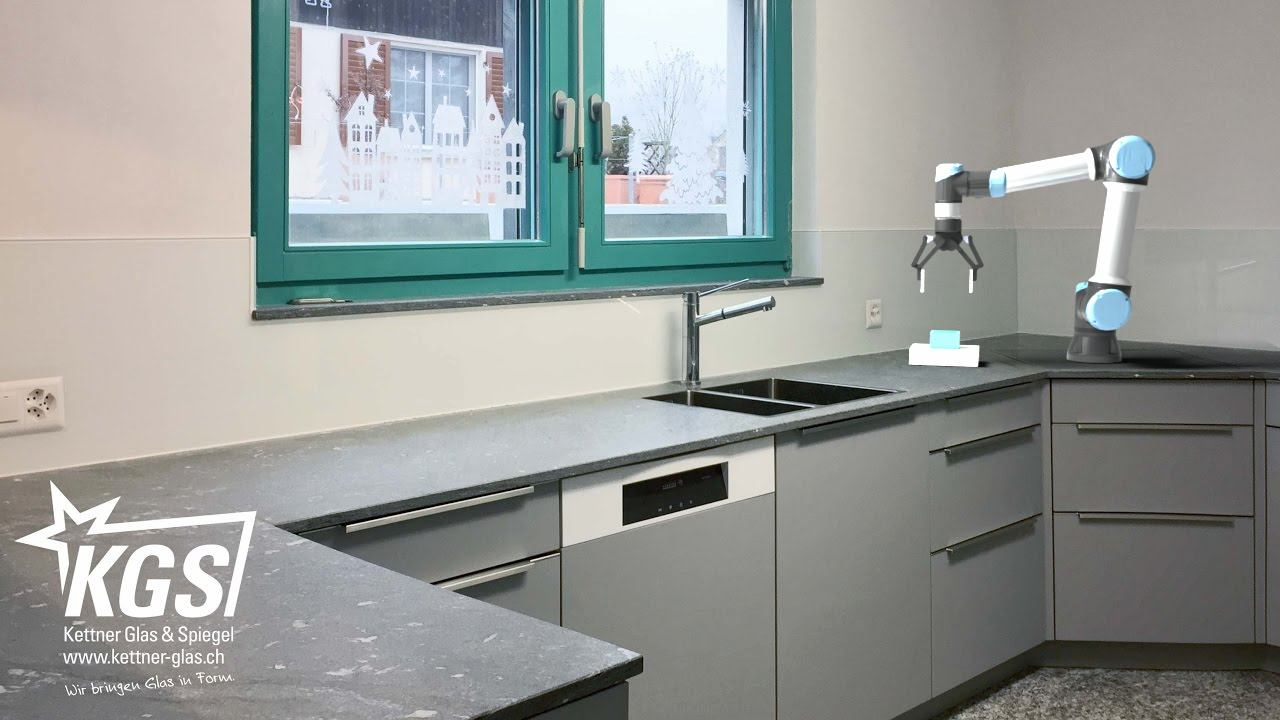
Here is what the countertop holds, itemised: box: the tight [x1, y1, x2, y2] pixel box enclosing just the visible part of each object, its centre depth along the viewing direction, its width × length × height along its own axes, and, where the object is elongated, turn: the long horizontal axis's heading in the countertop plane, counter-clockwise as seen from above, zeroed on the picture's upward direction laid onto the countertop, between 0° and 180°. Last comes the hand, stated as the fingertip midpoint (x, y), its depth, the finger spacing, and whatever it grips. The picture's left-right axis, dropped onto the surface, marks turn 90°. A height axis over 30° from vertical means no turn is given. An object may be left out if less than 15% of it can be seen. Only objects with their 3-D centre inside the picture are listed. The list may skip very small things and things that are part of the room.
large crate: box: [908, 343, 980, 368], centre depth 352 cm, size 19×14×4 cm
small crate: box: [929, 329, 961, 350], centre depth 351 cm, size 8×8×8 cm
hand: (946, 292), depth 350 cm, fingers open, 13 cm apart
